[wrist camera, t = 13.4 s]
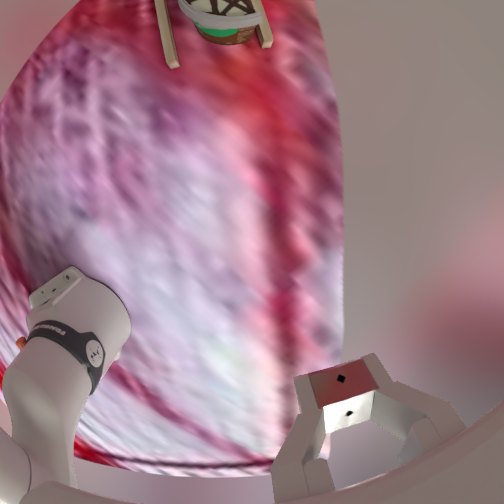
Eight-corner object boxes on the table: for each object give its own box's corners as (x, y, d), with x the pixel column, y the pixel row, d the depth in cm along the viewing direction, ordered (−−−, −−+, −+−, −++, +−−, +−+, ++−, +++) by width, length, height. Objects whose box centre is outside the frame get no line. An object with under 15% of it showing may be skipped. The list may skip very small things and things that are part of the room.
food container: (171, 13, 25) (155, -22, 16) (209, -6, 24) (204, -44, 15) (215, 68, 29) (210, 39, 20) (256, 48, 28) (264, 14, 19)
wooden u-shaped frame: (171, 69, 28) (166, 62, 25) (155, -10, 23) (151, -19, 20) (270, 47, 28) (273, 39, 25) (244, -29, 22) (245, -40, 20)
